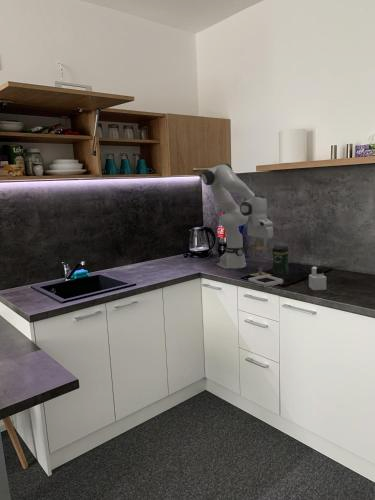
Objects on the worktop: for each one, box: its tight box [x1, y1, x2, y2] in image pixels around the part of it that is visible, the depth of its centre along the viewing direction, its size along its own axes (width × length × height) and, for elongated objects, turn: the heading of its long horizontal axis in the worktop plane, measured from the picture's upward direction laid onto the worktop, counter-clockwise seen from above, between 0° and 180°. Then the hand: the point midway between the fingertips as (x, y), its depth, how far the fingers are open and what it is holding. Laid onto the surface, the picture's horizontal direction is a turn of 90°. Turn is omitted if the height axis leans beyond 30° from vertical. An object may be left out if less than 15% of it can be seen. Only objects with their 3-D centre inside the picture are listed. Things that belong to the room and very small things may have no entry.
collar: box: [252, 240, 267, 251], centre depth 238 cm, size 7×8×5 cm
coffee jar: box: [271, 245, 290, 276], centre depth 241 cm, size 10×8×19 cm
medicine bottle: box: [308, 265, 327, 291], centre depth 209 cm, size 7×7×12 cm
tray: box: [247, 275, 284, 288], centre depth 225 cm, size 15×14×2 cm
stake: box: [249, 266, 272, 277], centre depth 241 cm, size 10×10×6 cm
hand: (259, 244), depth 238 cm, fingers closed on collar, 7 cm apart
